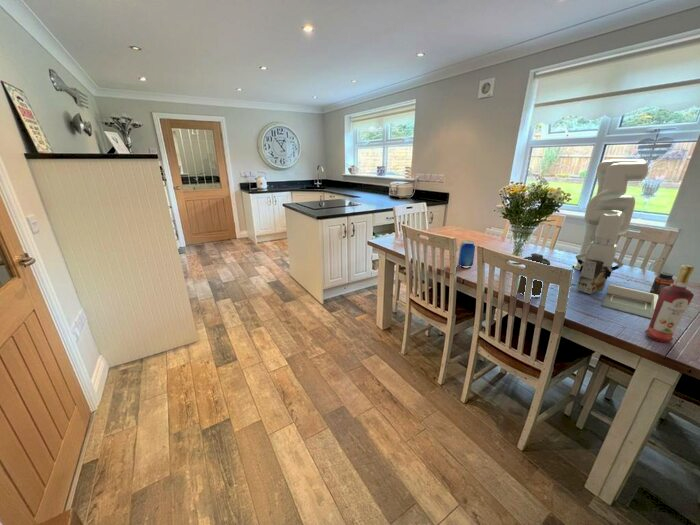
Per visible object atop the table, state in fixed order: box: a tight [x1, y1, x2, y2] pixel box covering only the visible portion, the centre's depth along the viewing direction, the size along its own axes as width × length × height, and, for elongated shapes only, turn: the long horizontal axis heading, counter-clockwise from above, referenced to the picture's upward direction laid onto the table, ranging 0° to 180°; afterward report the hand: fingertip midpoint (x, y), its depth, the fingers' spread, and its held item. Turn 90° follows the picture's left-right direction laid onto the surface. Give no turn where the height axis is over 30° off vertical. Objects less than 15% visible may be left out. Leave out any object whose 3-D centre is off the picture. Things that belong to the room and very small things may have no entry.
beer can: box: [457, 239, 476, 267], centre depth 167 cm, size 8×8×16 cm
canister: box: [517, 253, 551, 296], centre depth 131 cm, size 11×10×20 cm
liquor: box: [644, 264, 695, 343], centre depth 94 cm, size 7×7×28 cm
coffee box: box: [576, 259, 608, 295], centre depth 131 cm, size 9×6×16 cm
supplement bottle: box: [649, 271, 675, 297], centre depth 126 cm, size 6×6×11 cm
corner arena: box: [601, 284, 658, 320], centre depth 121 cm, size 18×16×4 cm
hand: (593, 275), depth 131 cm, fingers closed on coffee box, 8 cm apart
